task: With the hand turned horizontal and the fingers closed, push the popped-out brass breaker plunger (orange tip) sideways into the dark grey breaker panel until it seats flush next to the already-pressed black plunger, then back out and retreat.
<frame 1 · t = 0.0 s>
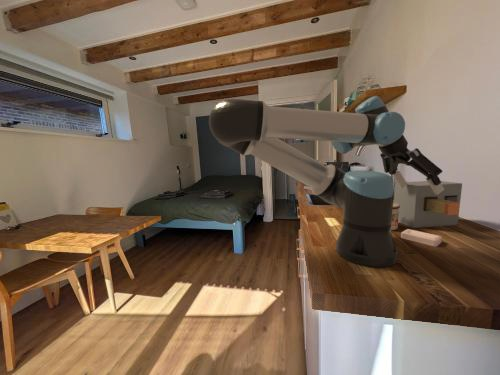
hand: (420, 188, 70), 15 cm above the countertop, tool tilted 35°, fingers open, 13 cm apart
breaker plunger: (438, 205, 71), point 9 cm above the countertop, slide at 0.0 cm
teacup with lid: (385, 226, 79), on the countertop
breaker panel: (423, 222, 81), on the countertop
soap bar: (420, 241, 65), on the countertop
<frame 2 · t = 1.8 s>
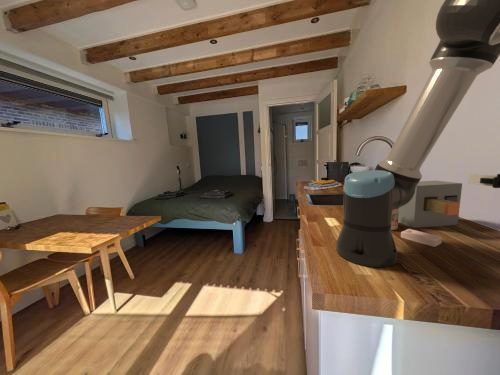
hand: (485, 178, 57), 20 cm above the countertop, tool horizontal, fingers open, 9 cm apart
nothing on the countertop moved.
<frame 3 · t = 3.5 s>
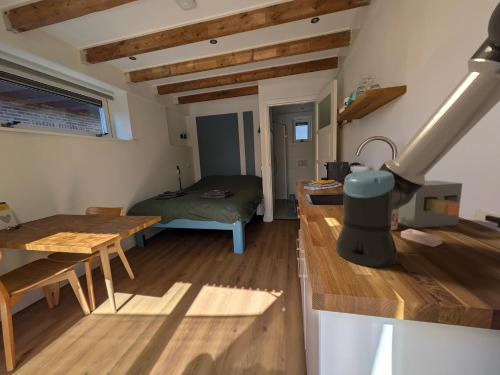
hand: (476, 214, 60), 9 cm above the countertop, tool horizontal, fingers closed
nothing on the countertop moved.
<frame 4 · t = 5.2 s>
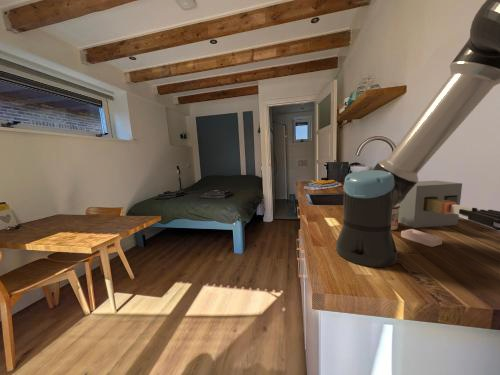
hand: (452, 208, 67), 9 cm above the countertop, tool horizontal, fingers closed
breaker plunger: (435, 204, 72), point 9 cm above the countertop, slide at 1.1 cm, touching gripper
everything else where it was.
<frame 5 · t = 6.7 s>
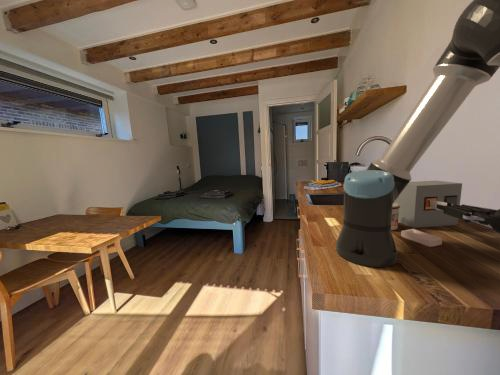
hand: (431, 203, 74), 9 cm above the countertop, tool horizontal, fingers closed
breaker plunger: (418, 200, 79), point 9 cm above the countertop, slide at 7.8 cm, touching gripper
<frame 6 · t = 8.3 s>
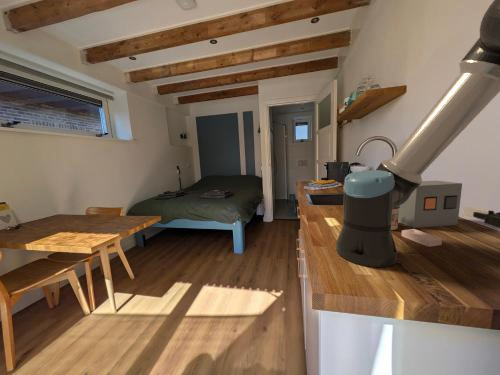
hand: (465, 211, 63), 9 cm above the countertop, tool horizontal, fingers closed
breaker plunger: (418, 200, 79), point 9 cm above the countertop, slide at 8.0 cm
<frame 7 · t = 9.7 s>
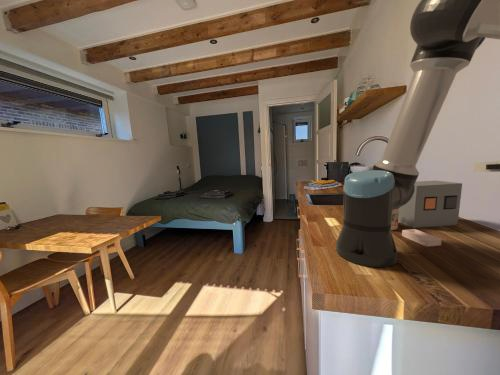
hand: (476, 167, 58), 23 cm above the countertop, tool horizontal, fingers closed
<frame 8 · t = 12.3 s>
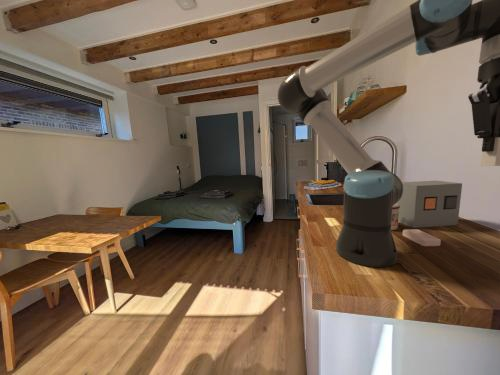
hand: (490, 165, 48), 24 cm above the countertop, tool pointing down, fingers closed
at the end: breaker plunger slide at 8.0 cm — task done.
